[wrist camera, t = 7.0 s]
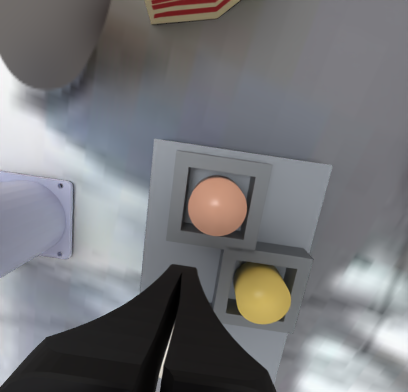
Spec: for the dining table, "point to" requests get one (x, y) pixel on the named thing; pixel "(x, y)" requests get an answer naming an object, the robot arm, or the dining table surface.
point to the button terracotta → (217, 206)
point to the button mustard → (261, 293)
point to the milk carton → (186, 10)
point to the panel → (236, 232)
